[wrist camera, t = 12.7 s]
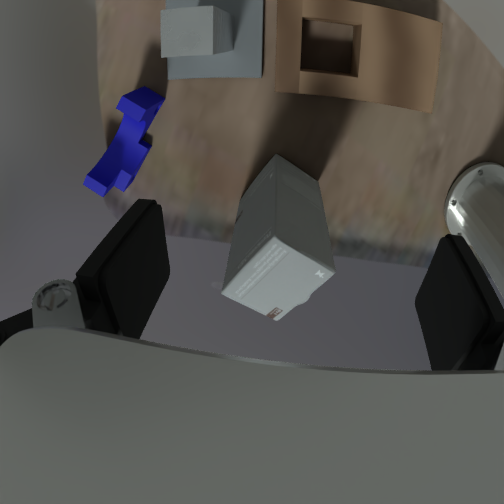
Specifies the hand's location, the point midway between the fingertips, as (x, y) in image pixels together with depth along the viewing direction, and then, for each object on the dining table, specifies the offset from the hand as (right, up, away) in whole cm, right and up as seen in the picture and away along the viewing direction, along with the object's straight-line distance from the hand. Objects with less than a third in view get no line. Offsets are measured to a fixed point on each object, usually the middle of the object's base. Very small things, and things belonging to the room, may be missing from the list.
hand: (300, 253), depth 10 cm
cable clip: (-15, +14, +26) cm, 33 cm away
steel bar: (-5, +22, +17) cm, 28 cm away
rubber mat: (-5, +23, +18) cm, 29 cm away
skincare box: (+2, +7, +29) cm, 30 cm away
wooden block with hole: (+9, +21, +17) cm, 29 cm away
